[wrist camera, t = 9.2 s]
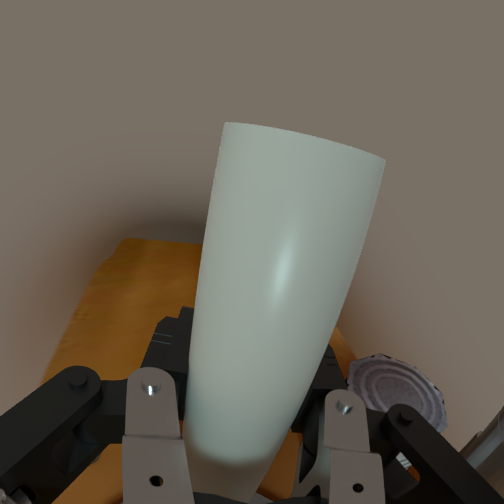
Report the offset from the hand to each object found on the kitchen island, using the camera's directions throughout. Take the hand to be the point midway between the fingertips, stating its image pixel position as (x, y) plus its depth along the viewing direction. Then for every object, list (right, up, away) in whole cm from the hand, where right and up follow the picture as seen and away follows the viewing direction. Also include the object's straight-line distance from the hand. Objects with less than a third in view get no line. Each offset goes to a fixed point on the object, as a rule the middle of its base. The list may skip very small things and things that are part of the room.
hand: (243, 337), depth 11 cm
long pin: (-2, -10, +1) cm, 10 cm away
